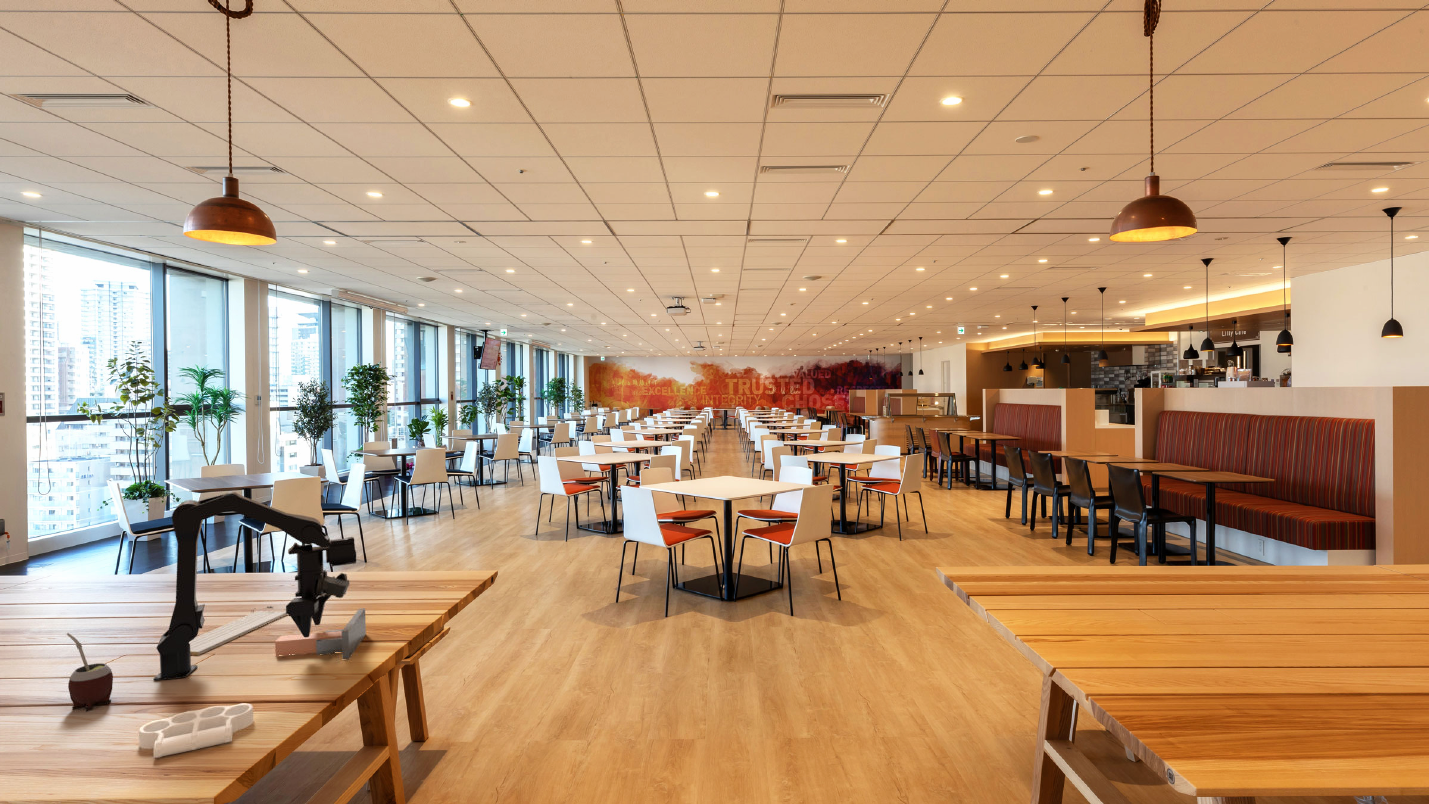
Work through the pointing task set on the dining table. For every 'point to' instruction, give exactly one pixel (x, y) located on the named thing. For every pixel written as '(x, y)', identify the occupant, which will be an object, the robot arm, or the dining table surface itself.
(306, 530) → the robot arm
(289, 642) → the rail
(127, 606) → the dining table surface
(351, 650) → the bracket
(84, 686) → the mate gourd
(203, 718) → the knuckle duster
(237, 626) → the baseboard
